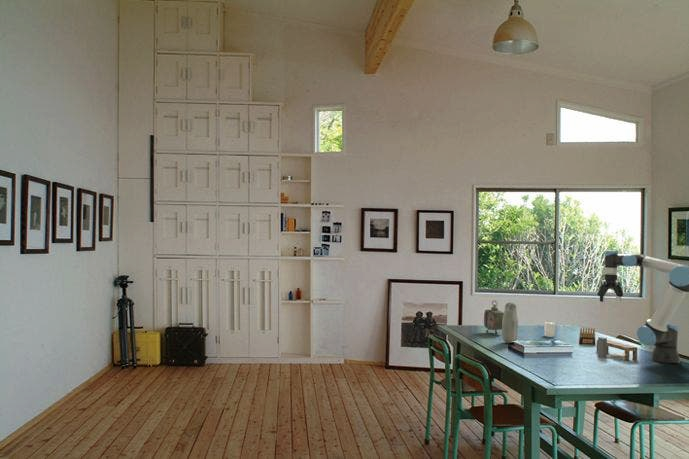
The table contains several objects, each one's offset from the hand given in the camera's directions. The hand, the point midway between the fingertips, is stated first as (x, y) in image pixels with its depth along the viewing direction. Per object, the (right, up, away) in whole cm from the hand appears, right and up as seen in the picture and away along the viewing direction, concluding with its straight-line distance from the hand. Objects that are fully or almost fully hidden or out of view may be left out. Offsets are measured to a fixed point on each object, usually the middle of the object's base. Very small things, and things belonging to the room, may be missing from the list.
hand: (610, 306), depth 338 cm
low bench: (-3, -30, -12) cm, 32 cm away
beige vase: (-60, -28, +17) cm, 69 cm away
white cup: (-20, -30, +49) cm, 61 cm away
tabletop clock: (-61, -29, +52) cm, 85 cm away
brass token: (+5, -30, -10) cm, 32 cm away
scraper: (-6, -29, -14) cm, 33 cm away
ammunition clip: (-4, -30, +23) cm, 38 cm away
